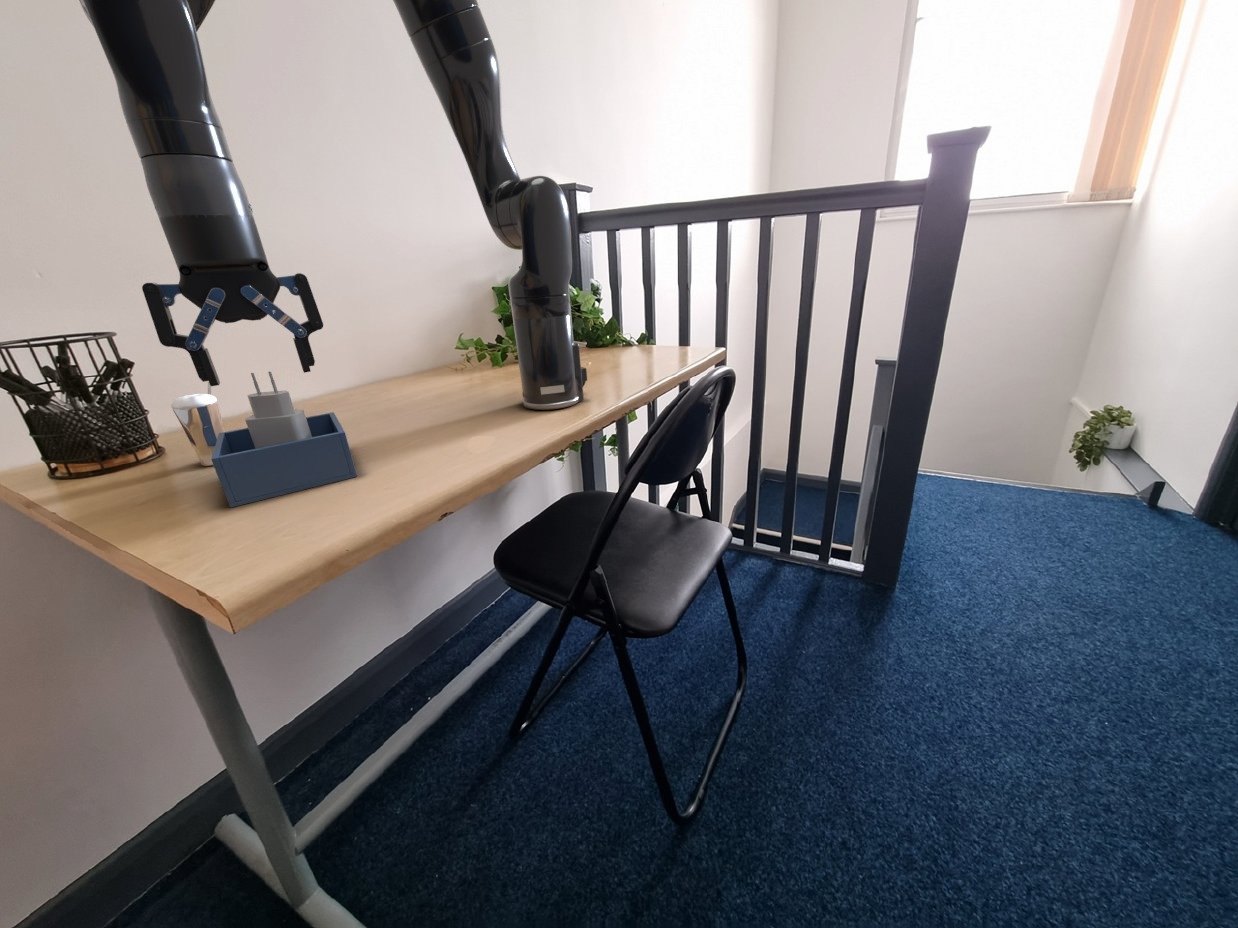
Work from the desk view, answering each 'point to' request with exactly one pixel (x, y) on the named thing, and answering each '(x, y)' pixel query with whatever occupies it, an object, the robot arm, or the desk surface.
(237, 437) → the basket
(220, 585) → the desk surface
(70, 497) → the desk surface
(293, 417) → the power adapter
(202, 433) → the milkshake
